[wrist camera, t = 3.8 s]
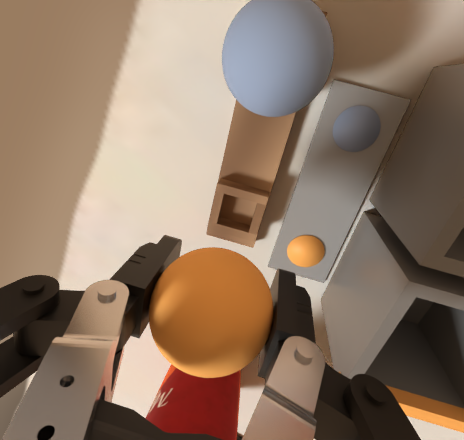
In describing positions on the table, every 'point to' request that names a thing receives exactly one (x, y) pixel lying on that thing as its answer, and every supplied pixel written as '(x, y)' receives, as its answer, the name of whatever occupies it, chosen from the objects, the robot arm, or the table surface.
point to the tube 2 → (398, 324)
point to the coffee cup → (197, 404)
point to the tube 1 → (429, 176)
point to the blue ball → (277, 55)
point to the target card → (336, 177)
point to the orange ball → (211, 312)
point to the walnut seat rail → (247, 174)
